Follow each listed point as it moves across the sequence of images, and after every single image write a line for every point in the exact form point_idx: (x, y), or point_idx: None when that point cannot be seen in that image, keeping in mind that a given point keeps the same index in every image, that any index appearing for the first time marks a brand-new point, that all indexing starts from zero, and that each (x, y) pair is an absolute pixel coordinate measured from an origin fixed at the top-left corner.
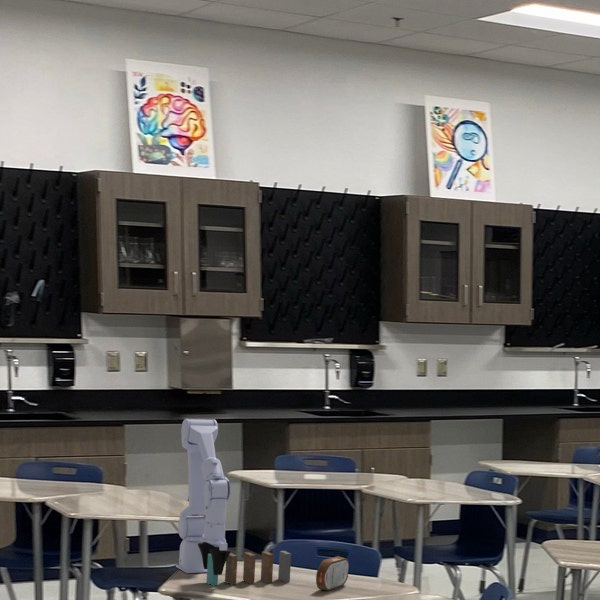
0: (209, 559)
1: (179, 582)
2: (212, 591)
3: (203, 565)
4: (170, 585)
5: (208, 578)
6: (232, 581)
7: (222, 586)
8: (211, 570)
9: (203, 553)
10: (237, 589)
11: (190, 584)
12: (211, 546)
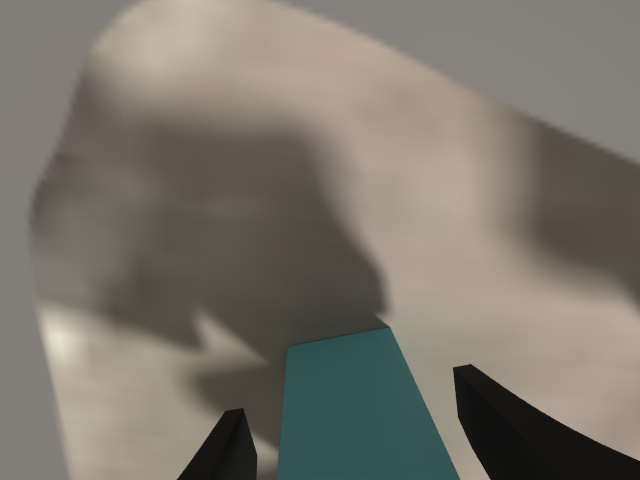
0: (398, 477)
1: (414, 141)
2: (131, 326)
3: (484, 376)
4: (315, 48)
5: (364, 352)
6: None
7: (279, 402)
8: (316, 411)
9: (546, 472)
10: None
11: (343, 214)
12: None
